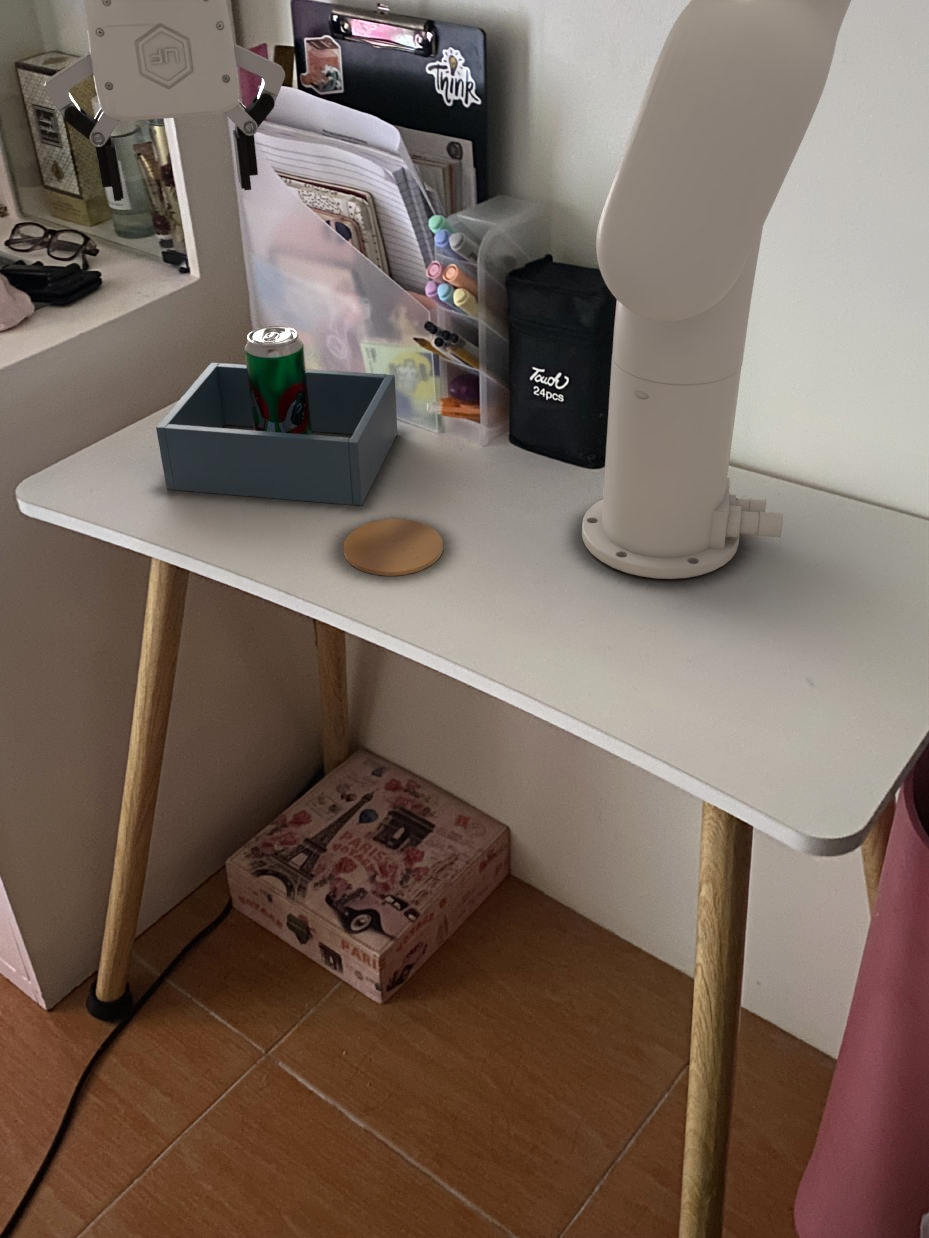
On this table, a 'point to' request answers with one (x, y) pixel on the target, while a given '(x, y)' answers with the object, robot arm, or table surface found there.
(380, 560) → the coaster
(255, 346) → the soda can
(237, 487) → the frame
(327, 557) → the table surface
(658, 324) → the robot arm
